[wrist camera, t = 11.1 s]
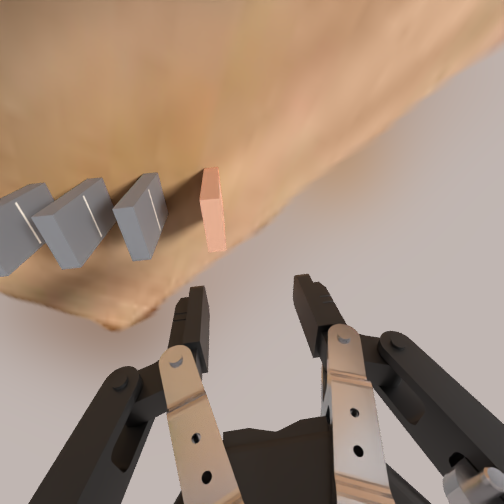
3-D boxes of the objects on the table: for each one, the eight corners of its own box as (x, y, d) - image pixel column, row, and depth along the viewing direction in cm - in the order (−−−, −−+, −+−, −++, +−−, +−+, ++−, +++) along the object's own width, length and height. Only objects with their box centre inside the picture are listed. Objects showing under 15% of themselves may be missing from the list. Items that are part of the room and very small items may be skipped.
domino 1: (45, 182, 27) (-32, 223, 18) (66, 224, 30) (8, 275, 21) (29, 184, 27) (-56, 225, 18) (52, 225, 29) (-12, 278, 21)
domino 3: (157, 172, 28) (133, 206, 19) (168, 213, 30) (151, 259, 22) (142, 173, 28) (111, 209, 19) (155, 214, 30) (132, 261, 22)
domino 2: (102, 177, 27) (53, 214, 19) (118, 218, 30) (81, 267, 22) (87, 178, 27) (30, 217, 19) (104, 220, 30) (62, 269, 22)
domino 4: (218, 167, 28) (219, 198, 20) (223, 207, 31) (226, 250, 23) (203, 168, 28) (199, 200, 20) (210, 209, 31) (208, 252, 22)
